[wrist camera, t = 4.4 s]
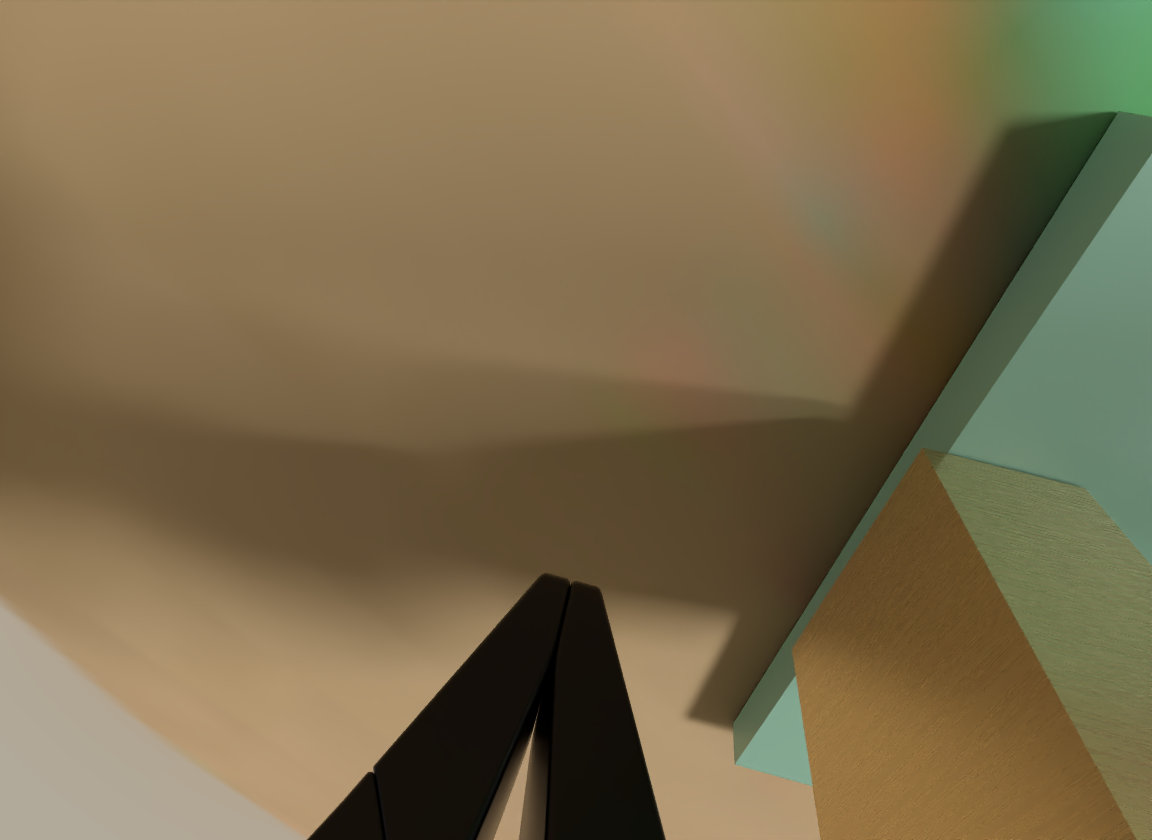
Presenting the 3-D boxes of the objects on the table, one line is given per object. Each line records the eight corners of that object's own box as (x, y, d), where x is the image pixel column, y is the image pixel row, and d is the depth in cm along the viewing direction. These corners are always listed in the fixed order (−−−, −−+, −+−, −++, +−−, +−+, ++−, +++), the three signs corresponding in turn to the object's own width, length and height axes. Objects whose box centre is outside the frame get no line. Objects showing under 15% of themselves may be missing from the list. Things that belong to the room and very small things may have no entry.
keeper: (1295, 540, 9) (2056, 1184, 4) (1069, 723, 11) (1342, 1226, 7) (922, 447, 9) (1193, 941, 4) (791, 648, 12) (857, 1082, 7)
